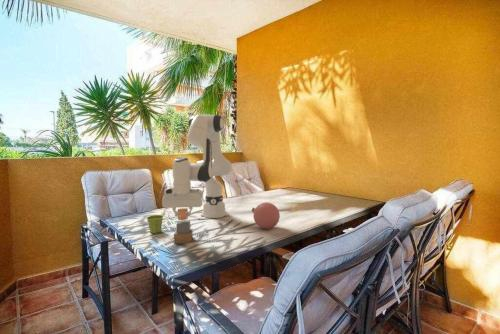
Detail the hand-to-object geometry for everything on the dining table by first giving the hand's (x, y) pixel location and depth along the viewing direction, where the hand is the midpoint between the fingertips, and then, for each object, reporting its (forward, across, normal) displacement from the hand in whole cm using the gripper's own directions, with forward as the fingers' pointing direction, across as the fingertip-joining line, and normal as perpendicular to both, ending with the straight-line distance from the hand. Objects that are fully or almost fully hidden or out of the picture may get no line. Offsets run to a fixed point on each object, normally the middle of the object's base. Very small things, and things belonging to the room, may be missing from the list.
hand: (182, 215), depth 151 cm
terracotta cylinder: (+2, 0, 0) cm, 2 cm away
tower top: (+8, 0, 0) cm, 9 cm away
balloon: (+14, -44, -20) cm, 50 cm away
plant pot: (+14, +19, -16) cm, 28 cm away
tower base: (+14, 0, 0) cm, 14 cm away
